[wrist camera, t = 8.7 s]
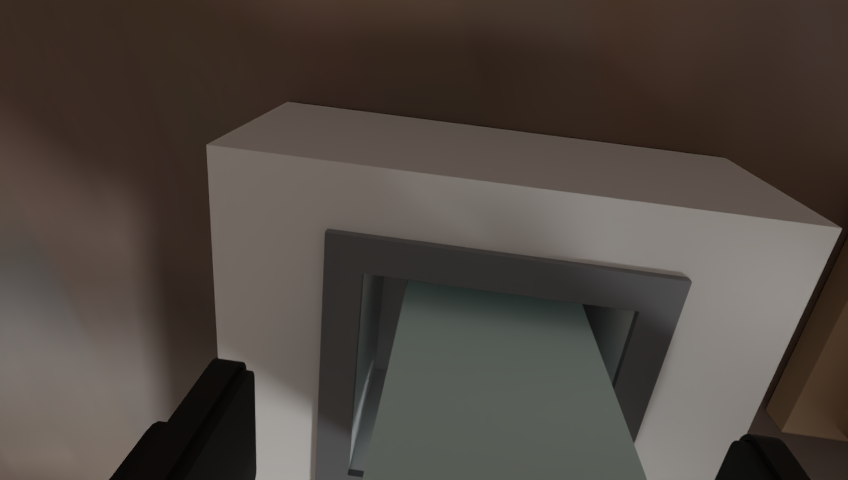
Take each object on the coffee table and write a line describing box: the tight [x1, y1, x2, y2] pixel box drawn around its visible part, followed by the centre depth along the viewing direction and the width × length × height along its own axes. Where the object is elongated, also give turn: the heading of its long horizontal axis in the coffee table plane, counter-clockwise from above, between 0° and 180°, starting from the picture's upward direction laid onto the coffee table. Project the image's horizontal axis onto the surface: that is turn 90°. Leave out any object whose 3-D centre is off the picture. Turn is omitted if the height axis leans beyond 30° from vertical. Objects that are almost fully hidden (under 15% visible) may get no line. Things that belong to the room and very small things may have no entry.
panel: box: [206, 102, 842, 480], centre depth 16 cm, size 12×16×5 cm
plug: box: [362, 280, 647, 480], centre depth 11 cm, size 4×4×10 cm
